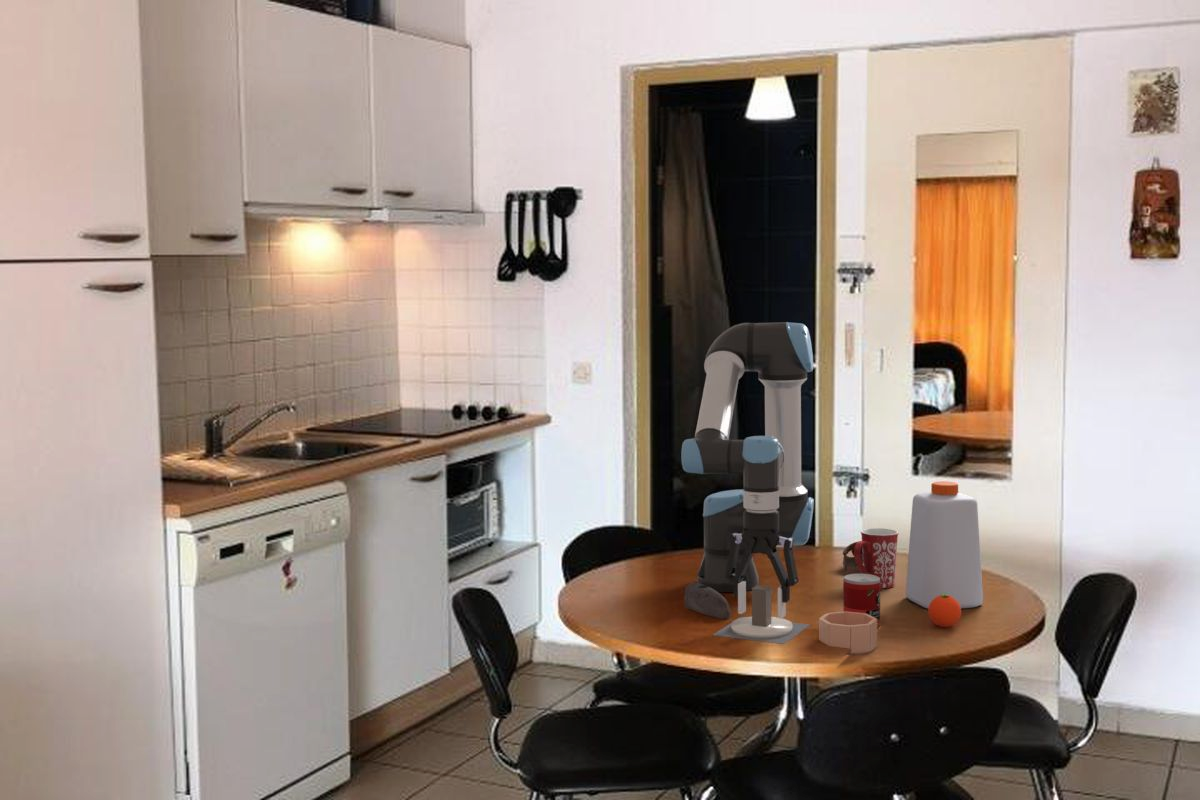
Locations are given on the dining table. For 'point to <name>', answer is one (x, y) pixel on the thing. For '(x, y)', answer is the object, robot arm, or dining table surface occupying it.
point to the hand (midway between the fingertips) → (761, 614)
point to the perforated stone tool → (706, 601)
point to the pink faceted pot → (849, 631)
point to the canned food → (862, 594)
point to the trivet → (781, 640)
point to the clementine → (944, 610)
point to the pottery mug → (850, 560)
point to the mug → (878, 554)
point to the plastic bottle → (944, 547)
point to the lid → (761, 618)
